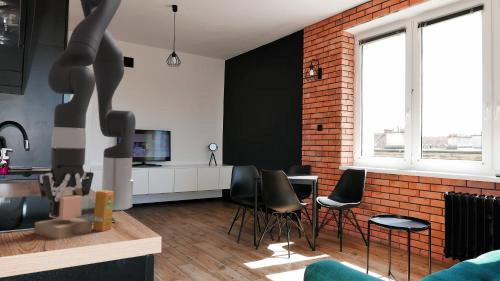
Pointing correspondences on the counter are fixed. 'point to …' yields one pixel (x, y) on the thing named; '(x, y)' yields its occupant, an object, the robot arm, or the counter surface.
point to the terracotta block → (69, 206)
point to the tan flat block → (63, 227)
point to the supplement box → (103, 210)
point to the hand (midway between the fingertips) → (65, 214)
